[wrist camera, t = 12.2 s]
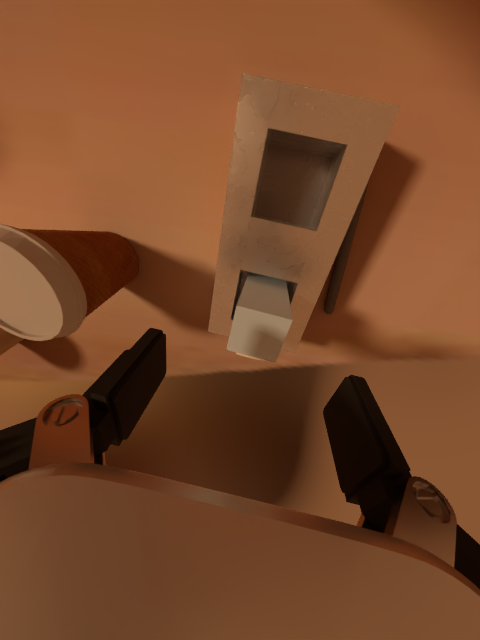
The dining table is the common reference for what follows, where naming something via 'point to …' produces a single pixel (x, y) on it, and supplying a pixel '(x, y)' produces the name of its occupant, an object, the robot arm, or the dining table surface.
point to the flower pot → (7, 340)
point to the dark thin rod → (342, 259)
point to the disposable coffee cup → (58, 278)
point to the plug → (261, 318)
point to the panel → (293, 191)
